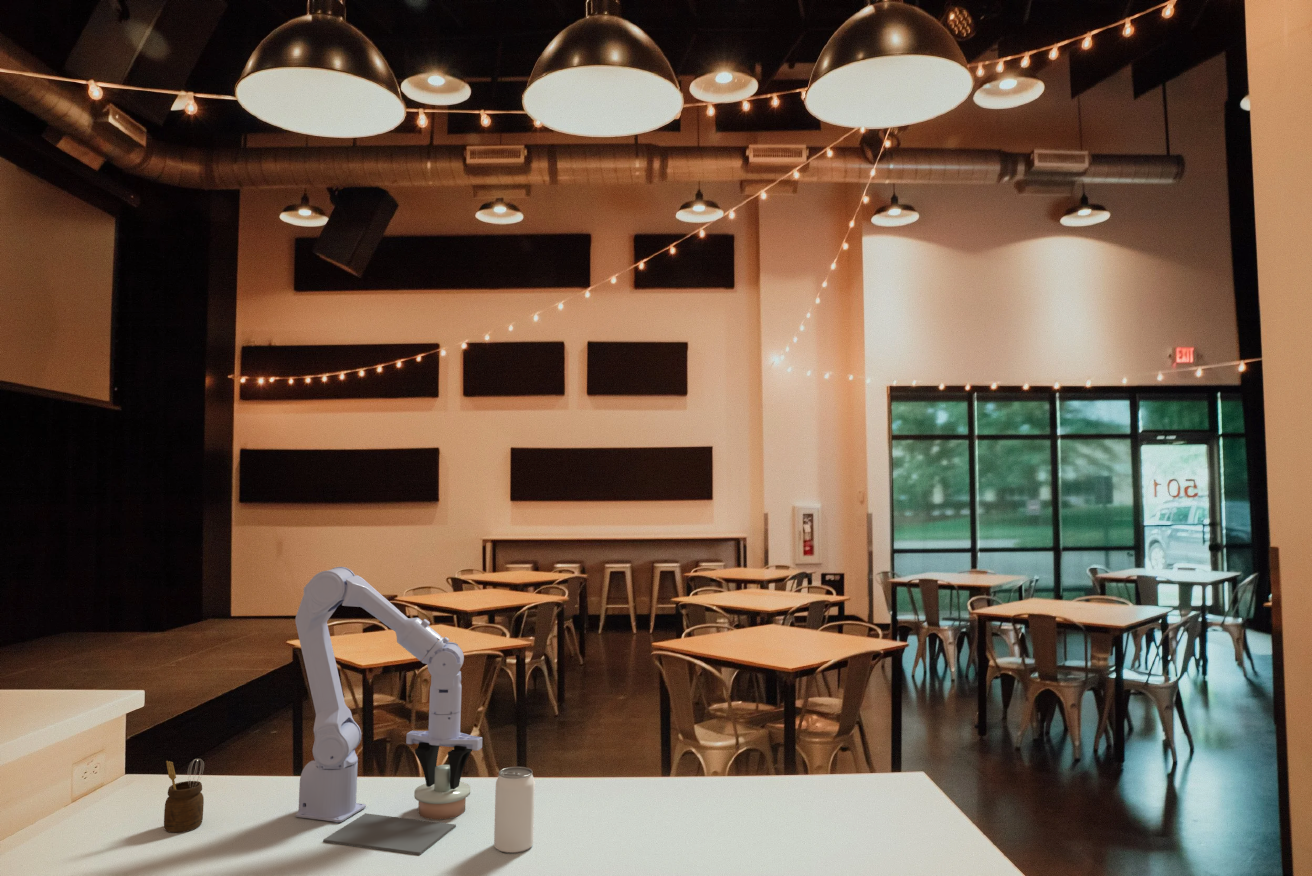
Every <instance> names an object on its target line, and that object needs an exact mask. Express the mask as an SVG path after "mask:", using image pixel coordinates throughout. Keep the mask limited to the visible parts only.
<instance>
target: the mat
mask: <svg viewBox="0 0 1312 876" xmlns="http://www.w3.org/2000/svg"><path fill="white" fill-rule="evenodd" d="M456 827H457V824H456V823H455V824H454V823H447V822H440V821H439V822H437V821H432V820H431V821H430V820H423V819H413V818H405V817H399V816H398V817H397V816H390V815H384V814H383V815H381V814H374V813H364V814H361V815H360V816H359V817H357V818H356V819H354V820H353V821H351V822H350V823H347V824H346V825H344V826H343V827H341V828H339V829H338V830H337V831H334V832H333V833H332V834H330V835H328V836H327V837H325V838H324V839H323V840H322V842H323V843H329V844H336V845H342V846H343V845H344V846H351V847H356V848H366V849H374V850H380V851H387V852H396V853H402V854H403V853H404V854H411V855H418V856H420V855H422V854H424V853H425V852H426V851H427V850H428V849H430V848H431V847H432V846H434V845H435V844H436V843H437V842H439V841H440V840H442V838H444V837H445V836H446V835H447V834H449V833H450V832H451V831H452V830H454V829H455V828H456Z"/></svg>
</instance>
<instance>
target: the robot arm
mask: <svg viewBox="0 0 1312 876" xmlns="http://www.w3.org/2000/svg"><path fill="white" fill-rule="evenodd" d="M299 603H300V604H299V607H298V609H297V613H296V615H295V626H296V631H297V635H298V639H299V640H298V641H299V644H300V649H301V653H302V658H303V663H304V666H305V671H306V676H307V680H308V685H309V689H310V694H311V699H312V704H313V707H314V712H315V719H314V724H313V736H314V742H313V746H312V755H313V758H314V760H310V761H308V763H307V764H305V766H304V767H303V769H302V771H301V774H300V777H299V787H298V788H299V793H298V812H296V813H295V817H296V818H304V819H311V820H319V821H327V822H335V823H342V822H343V821H345V820H348V818H350V817H352V816H353V815H355V814H357V813H359V812H360V811H362V810H363V809H366V807H367V804H365V803H359V802H357V792H358V789H357V788H358V787H357V786H358V765H359V764H358V762H359V758H358V755H357V754H356V753H357V752H356V749H357V747H358V746H359V745H360V743H361V740H362V730H361V728H360V726H359V725H358V723H357V722H356V721H355V719H354V718H353V714H352V711H351V709H350V708H349V707H348V705H347V704H346V703H345V697H344V692H343V687H342V684H341V680H340V679H341V678H340V676H339V670H338V665H337V662H336V656H335V654H334V653H335V651H334V649H333V644H332V638H331V635H330V630H329V625H328V621H329V619H330V618H331V617H332V615H333V614H334V613H335V611H336V610H337V608H338V607H339V606H340V605H341V606H344V607H357V608H359V607H360V608H362V609H363V610H365V611H366V612H367V613H369V614H370V615H371V616H373V617H375V618H376V619H377V620H378V621H380V622H381V623H382V624H384V625H385V626H386V627H388V629H390V630H392V631H394V632H395V635H396V642H397V644H398V645H399V646H401V647H402V648H403V649H404V650H406V651H407V652H408V653H410V654H411V655H412V656H413V657H415V658H416V659H417V660H419V662H421V663H422V664H424V665H427V671H428V673H429V674H430V676H431V679H430V687H429V704H428V705H429V706H428V707H429V709H428V710H429V712H428V730H410V731H409V732H406V740H405V741H406V745H413V744H418V746H417V748H415V749H414V754H415V755H416V757H417V760H418V761H419V763H420V765H421V769H422V772H423V775H424V779H425V784H426V786H427V787H430V786H432V785H433V784H434V781H435V767H436V766H437V765H438V764H437V762H438V754H439V749H440V747H449V748H453V749H451V750H449V751H448V752H447V757H448V762H449V765H450V789H455V788H457V787H458V786H459V783H460V781H461V778H462V774H463V771H464V768H465V765H466V762H467V761H468V759H469V757H470V754H471V753H472V751H477V752H478V751H479V750H481V749H482V748H483V737H482V736H476V735H471V734H467V733H463V732H461V718H462V717H461V715H462V712H461V711H462V691H463V689H462V687H463V686H462V671H461V668H462V667H463V664H464V660H465V655H464V652H463V650H462V648H461V647H460V646H459V645H458V643H456V642H453V641H450V638H448V637H447V636H445V637H444V636H442V635H441V634H439V633H438V632H437V631H436V630H435V629H433V628H432V627H430V624H431V622H430V621H429V620H428V619H427V618H424V619H423V620H422V619H421V618H420V617H411V618H408V616H406V615H405V614H404V613H403V612H401V611H400V609H399V608H397V607H396V606H395V605H394V604H393V603H391V602H390V601H389V600H388V599H387V598H386V596H383V595H382V594H381V593H380V592H379V591H378V590H377V589H375V588H374V587H373V585H371V584H370V583H369V582H368V581H367V580H365V579H364V578H363V577H361V576H360V575H358V574H355V573H354V572H353V571H352V569H350V568H348V567H346V566H345V567H344V566H336V567H333V568H332V569H328V570H323V571H320V572H317V573H316V574H315V575H314V576H313V577H312V578H311V579H310V580H309V581H308V582H307V584H306V585H305V586H304V587H303V596H302V597H301V601H300V602H299Z"/></svg>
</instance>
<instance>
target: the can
mask: <svg viewBox="0 0 1312 876" xmlns="http://www.w3.org/2000/svg"><path fill="white" fill-rule="evenodd" d="M533 773H534V772H533V770H532V768H529V767H525V766H510V767H505V768H502V769H500V770H499V772H498V776H497V779H496V781H495V795H494V796H495V798H494V828H493V829H494V833H493V836H494V837H493V839H494V841H493V842H494V845H493V846H494V848H495V849H496V850H497V851H499V852H501V853H504V854H520V853H524V852H527V851H528V850H530V848H531V847H532V846H533V845H534V837H535V836H534V833H535V831H534V830H535V827H534V826H535V798H536V797H535V796H536V794H535V793H536V792H535V791H536V789H535V787H536V782H535V781H536V780H535V778H534V775H533Z"/></svg>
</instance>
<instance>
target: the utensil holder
mask: <svg viewBox="0 0 1312 876" xmlns="http://www.w3.org/2000/svg"><path fill="white" fill-rule="evenodd" d="M195 761H196V763H195ZM199 761H201V766H202V768H200V771H199V772H201V773H202V774H203V772H204V771H203V770H204V768H205V766H204V764H205V763H204V761H202V759H201V758H195V759H193V760H192V762H189V765H188V769H187V772H188V775H189V778H191V776H192V772H191V771H190V770H192V768H193V767H191V766H193V764H194V763H195V765H196V766H195V769H194V770H195V771H194V772H193V774H194V776H193V779H192V780H191V779H189V780H187V781H186V780H185V781H180V782H175V781H176V780H175V779H177V776H176V771H175V766H174V762H173V761H168V760H166V761H165V763H166V768H167V769H166V770H167V772H168V773H167V774H168V778H169V779H170V780H171V783H172V784H171V785H170V786H169V787H168V789H167V796H168V797H167V798H166V800H165V803H164V810H163V811H164V813H163V815H164V816H163V828H164V831H165V832H166V833H172V834H179V833H186V832H189V831H192V830H193V831H194V830H195V829H197V828H199V827H200V826H201V825H202V823H203V820H204V819H203V818H204V805H205V804H204V802H205V801H204V794H203V793H202V791H203V785H202V782H201V781H200V780H195V777H196V775H197V773H196V772H198V769H197V767H198V766H199V764H198V762H199ZM201 773H198V774H199V775H198V778H197V779H200V778H201V776H202V774H201Z"/></svg>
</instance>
